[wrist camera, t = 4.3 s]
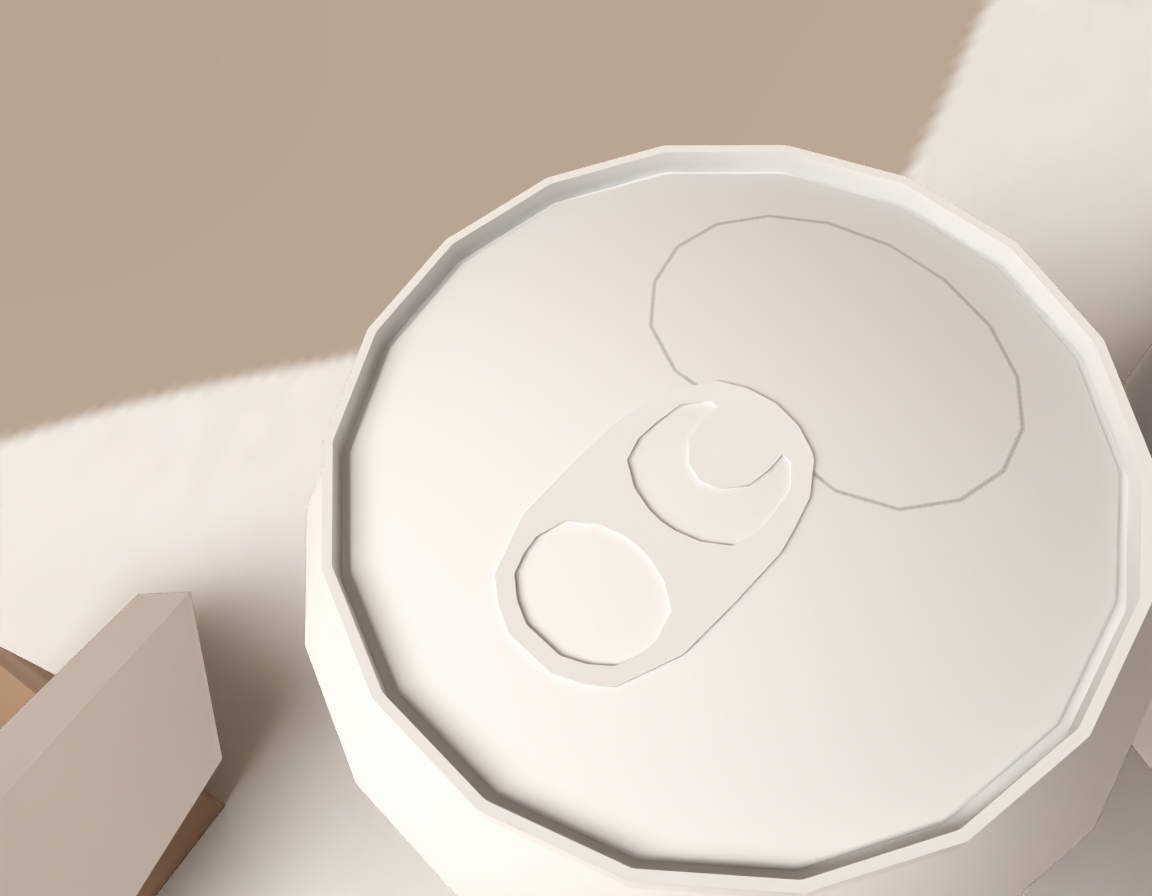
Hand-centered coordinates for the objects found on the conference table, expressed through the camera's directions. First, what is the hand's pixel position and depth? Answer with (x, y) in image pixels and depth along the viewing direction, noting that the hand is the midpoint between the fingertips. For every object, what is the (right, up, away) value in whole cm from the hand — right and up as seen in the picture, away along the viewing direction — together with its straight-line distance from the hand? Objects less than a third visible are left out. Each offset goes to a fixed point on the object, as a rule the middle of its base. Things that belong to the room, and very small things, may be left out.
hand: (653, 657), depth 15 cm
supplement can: (+1, -4, +8) cm, 9 cm away
